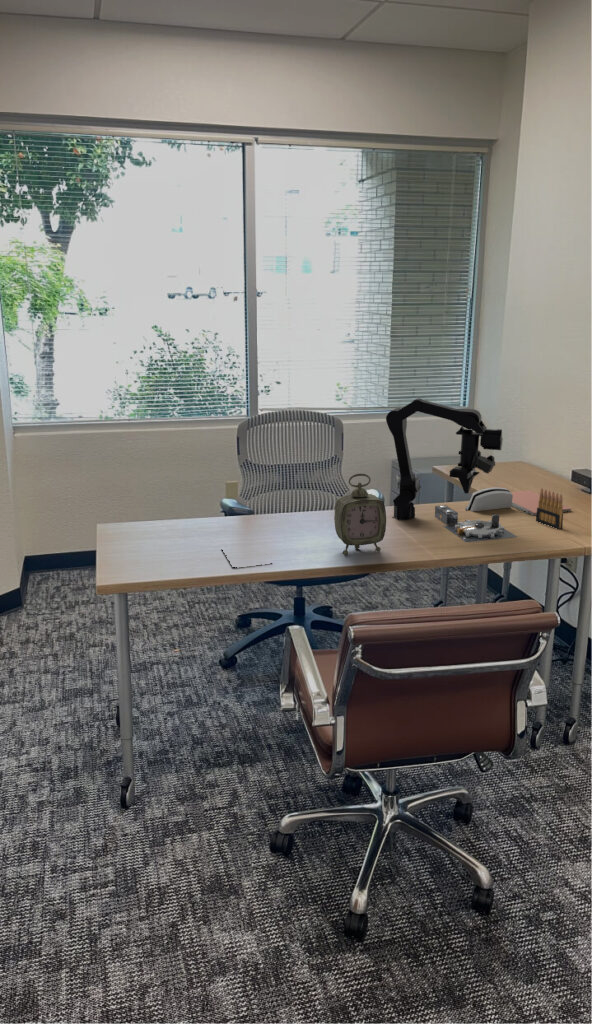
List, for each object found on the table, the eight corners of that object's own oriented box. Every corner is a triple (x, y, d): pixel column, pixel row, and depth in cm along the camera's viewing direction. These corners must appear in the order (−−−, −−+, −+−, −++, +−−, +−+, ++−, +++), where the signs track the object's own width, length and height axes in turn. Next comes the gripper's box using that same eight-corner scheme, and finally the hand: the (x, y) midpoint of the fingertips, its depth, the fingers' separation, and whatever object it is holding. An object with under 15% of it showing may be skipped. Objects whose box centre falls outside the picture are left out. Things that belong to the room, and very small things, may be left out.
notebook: (491, 498, 292) (491, 493, 292) (529, 494, 297) (529, 489, 296) (530, 517, 267) (531, 512, 267) (571, 513, 272) (572, 507, 271)
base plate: (466, 545, 239) (466, 542, 239) (442, 528, 256) (442, 525, 255) (517, 539, 243) (517, 536, 243) (490, 523, 260) (491, 521, 259)
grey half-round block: (504, 505, 281) (510, 483, 275) (510, 513, 277) (517, 490, 271) (463, 510, 276) (469, 487, 270) (469, 517, 272) (475, 495, 267)
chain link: (446, 527, 257) (446, 513, 256) (434, 519, 267) (435, 505, 265) (457, 526, 258) (458, 512, 257) (445, 518, 267) (445, 504, 266)
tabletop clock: (341, 557, 230) (340, 478, 223) (333, 548, 239) (332, 471, 232) (385, 553, 234) (386, 475, 226) (376, 544, 242) (376, 468, 235)
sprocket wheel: (454, 537, 243) (455, 520, 242) (454, 522, 258) (455, 507, 256) (505, 539, 240) (506, 522, 238) (502, 524, 255) (503, 508, 253)
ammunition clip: (562, 528, 253) (565, 494, 249) (558, 529, 252) (561, 495, 249) (539, 520, 262) (542, 487, 259) (535, 521, 261) (538, 487, 258)
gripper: (483, 456, 239) (480, 503, 244) (502, 445, 254) (498, 490, 259) (450, 452, 245) (447, 498, 249) (470, 442, 260) (467, 485, 264)
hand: (466, 493), depth 255 cm, fingers closed
